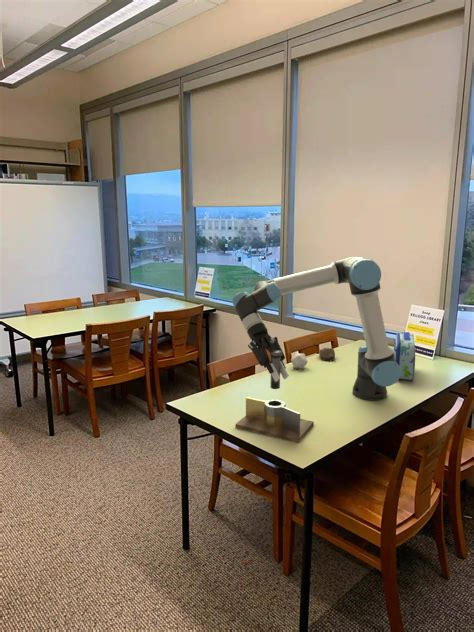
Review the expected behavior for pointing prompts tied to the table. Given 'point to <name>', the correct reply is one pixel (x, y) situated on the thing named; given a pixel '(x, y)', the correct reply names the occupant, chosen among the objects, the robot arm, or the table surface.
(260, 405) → the hinge
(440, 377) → the table surface
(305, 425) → the hinge base
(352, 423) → the table surface
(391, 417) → the table surface
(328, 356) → the concrete sample
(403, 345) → the lunch box
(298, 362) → the die
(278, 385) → the hinge pin
